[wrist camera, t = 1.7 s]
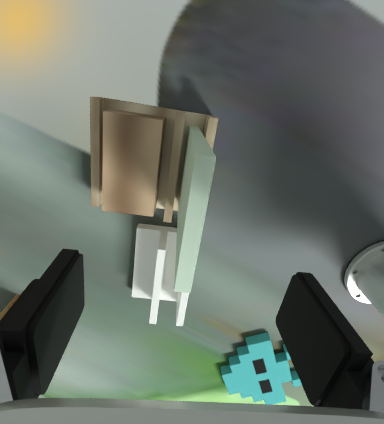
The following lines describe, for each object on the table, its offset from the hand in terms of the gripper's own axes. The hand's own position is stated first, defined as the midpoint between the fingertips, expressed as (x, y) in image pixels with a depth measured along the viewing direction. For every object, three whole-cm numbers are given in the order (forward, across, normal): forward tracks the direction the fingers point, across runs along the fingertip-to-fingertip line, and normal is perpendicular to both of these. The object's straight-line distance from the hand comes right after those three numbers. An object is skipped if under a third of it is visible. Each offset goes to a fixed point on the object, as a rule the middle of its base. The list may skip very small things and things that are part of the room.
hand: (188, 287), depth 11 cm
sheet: (+24, -1, 0) cm, 24 cm away
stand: (+25, +1, +17) cm, 30 cm away
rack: (+25, +4, 0) cm, 25 cm away
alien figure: (+25, -24, +40) cm, 53 cm away
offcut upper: (+21, +6, 0) cm, 22 cm away
